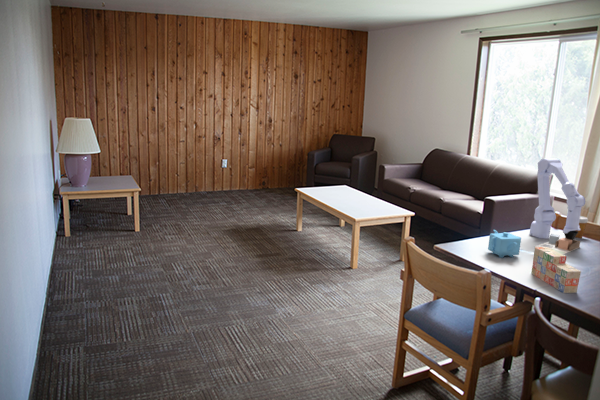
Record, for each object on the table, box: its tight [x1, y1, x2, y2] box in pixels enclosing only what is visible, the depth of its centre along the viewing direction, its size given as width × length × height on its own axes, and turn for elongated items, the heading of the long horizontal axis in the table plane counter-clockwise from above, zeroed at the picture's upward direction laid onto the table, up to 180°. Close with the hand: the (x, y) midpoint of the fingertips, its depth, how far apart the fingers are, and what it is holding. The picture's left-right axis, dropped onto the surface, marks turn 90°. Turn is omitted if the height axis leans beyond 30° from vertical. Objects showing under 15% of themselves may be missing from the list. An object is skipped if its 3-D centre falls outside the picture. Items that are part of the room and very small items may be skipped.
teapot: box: [487, 229, 522, 259], centre depth 232 cm, size 16×18×11 cm
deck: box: [534, 241, 581, 255], centre depth 243 cm, size 14×20×1 cm
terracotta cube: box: [558, 237, 572, 250], centre depth 241 cm, size 4×4×4 cm
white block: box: [548, 233, 560, 244], centre depth 250 cm, size 4×4×4 cm
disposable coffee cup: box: [575, 215, 589, 239], centre depth 263 cm, size 10×10×12 cm
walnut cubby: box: [555, 239, 581, 252], centre depth 243 cm, size 7×11×3 cm
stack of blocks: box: [530, 246, 582, 294], centre depth 198 cm, size 21×6×12 cm, turn 8°
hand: (568, 244), depth 244 cm, fingers closed
